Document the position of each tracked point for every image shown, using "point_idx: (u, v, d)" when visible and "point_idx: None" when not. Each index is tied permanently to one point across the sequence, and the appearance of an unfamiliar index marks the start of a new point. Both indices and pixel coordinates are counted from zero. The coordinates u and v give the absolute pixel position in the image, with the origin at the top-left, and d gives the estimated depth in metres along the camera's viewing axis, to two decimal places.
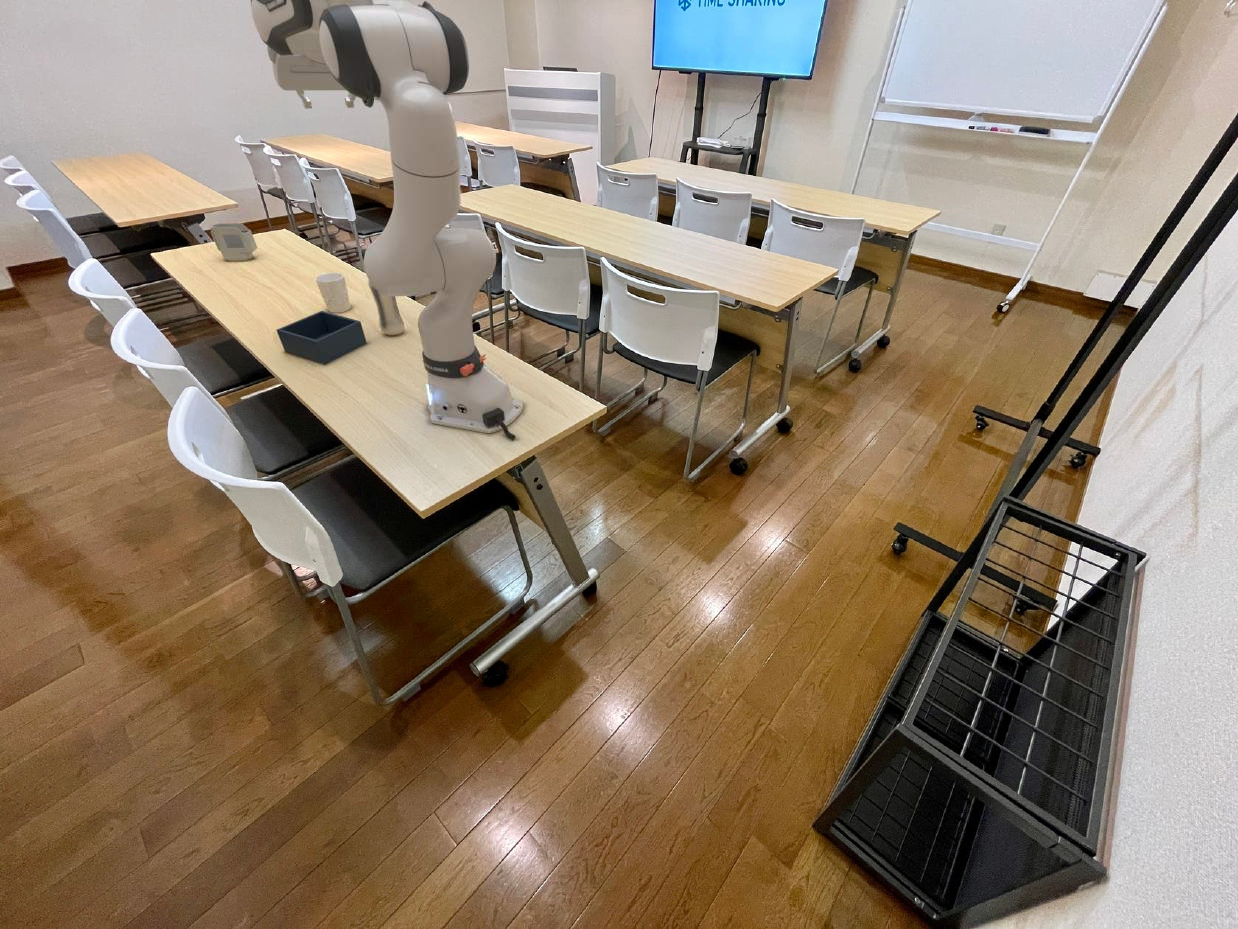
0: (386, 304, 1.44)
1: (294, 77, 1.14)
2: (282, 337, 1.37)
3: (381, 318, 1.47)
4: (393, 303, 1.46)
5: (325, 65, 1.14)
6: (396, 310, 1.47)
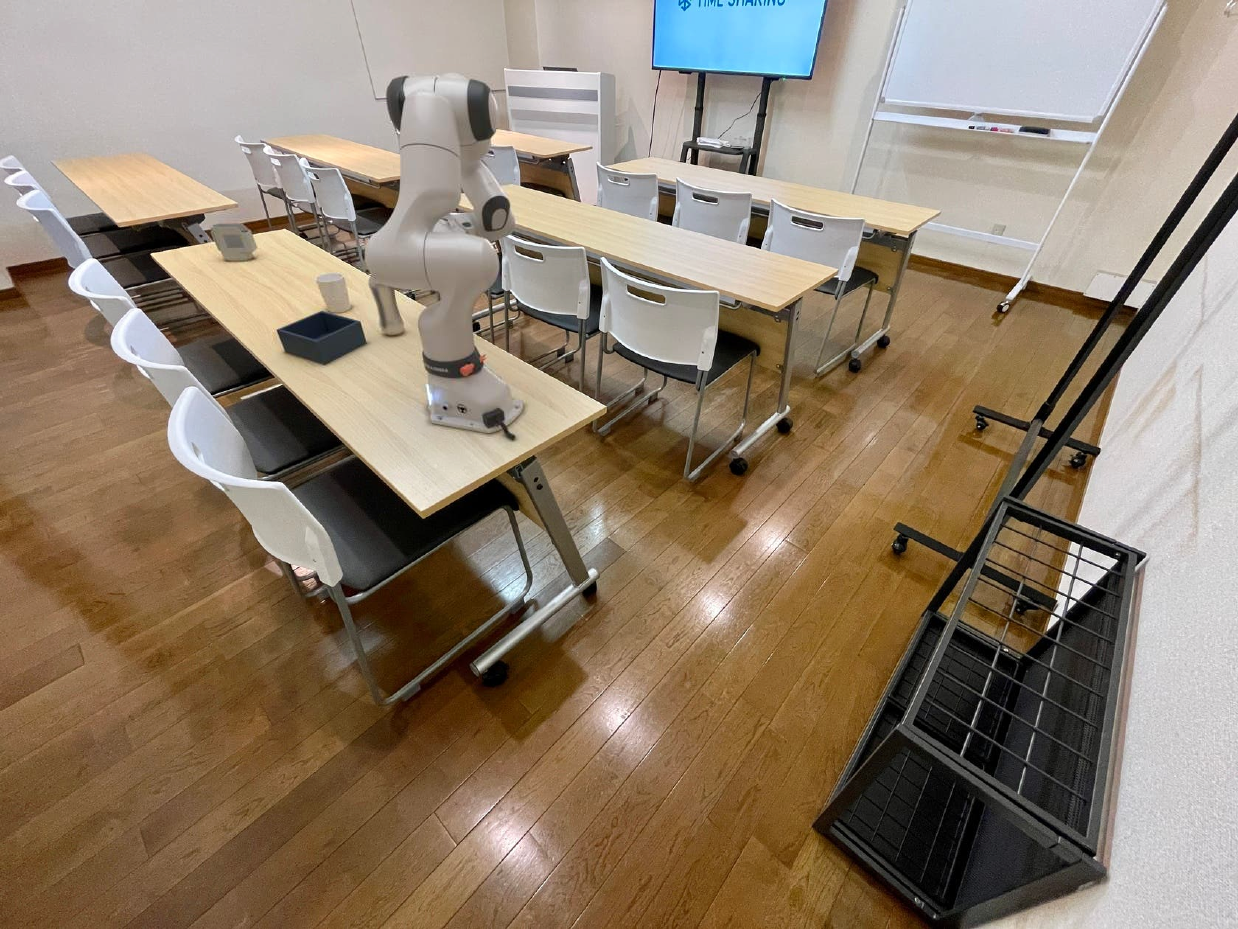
0: (386, 304, 1.44)
1: None
2: (282, 337, 1.37)
3: (381, 318, 1.47)
4: (393, 303, 1.46)
5: (449, 220, 1.46)
6: (396, 310, 1.47)
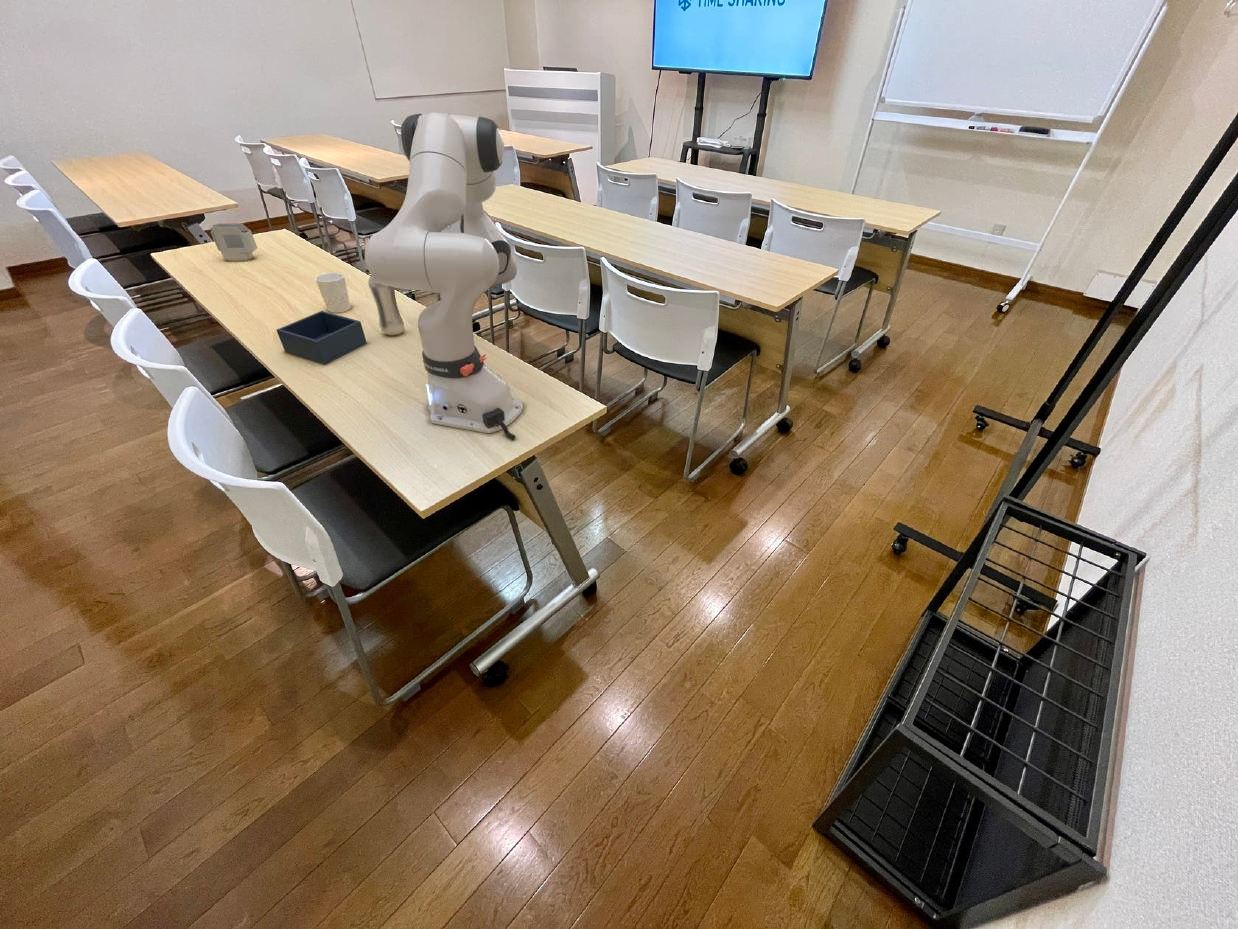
0: (386, 304, 1.44)
1: None
2: (282, 337, 1.37)
3: (381, 318, 1.47)
4: (393, 303, 1.46)
5: None
6: (396, 310, 1.47)
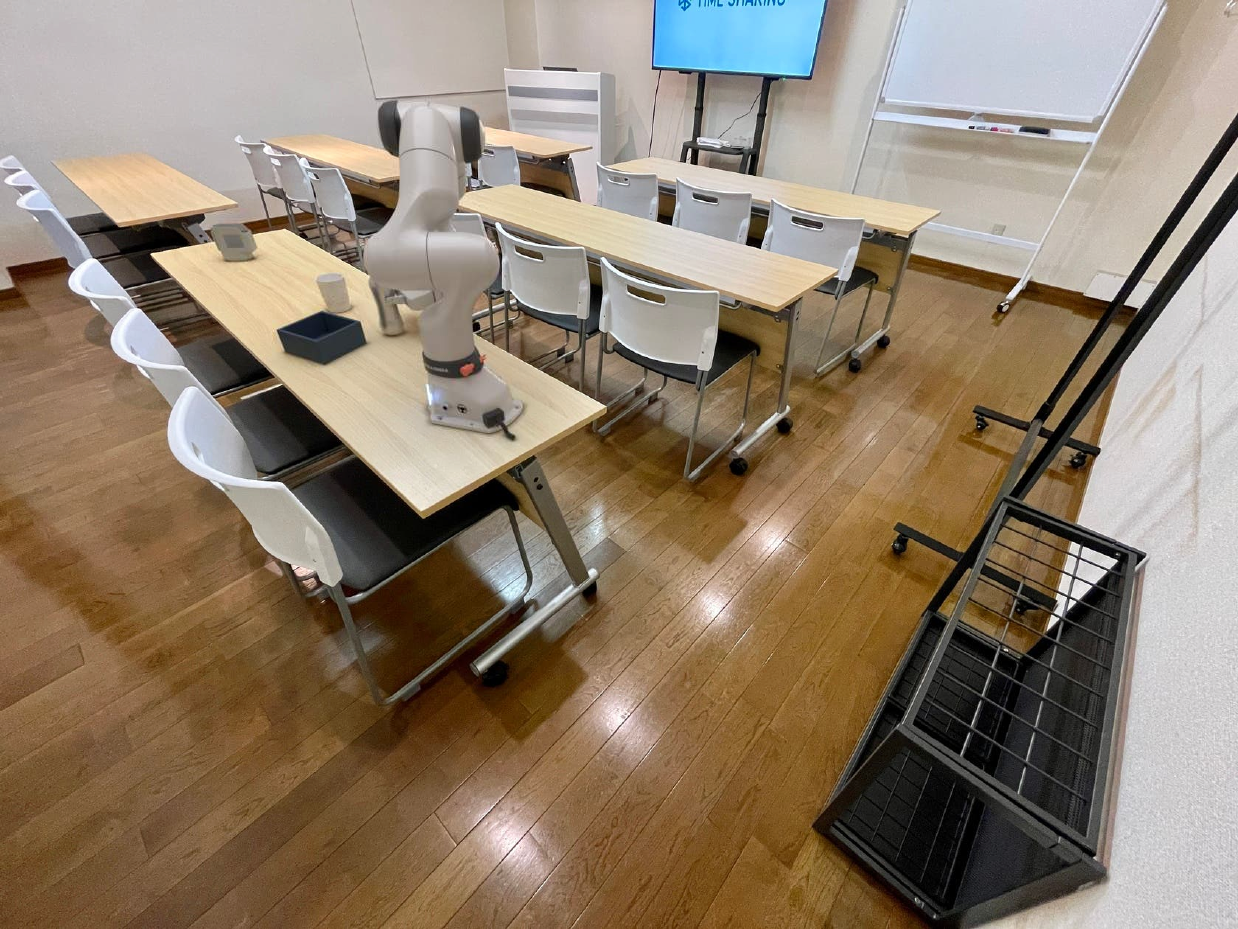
0: (386, 304, 1.44)
1: None
2: (282, 337, 1.37)
3: (381, 318, 1.47)
4: None
5: None
6: (396, 310, 1.47)
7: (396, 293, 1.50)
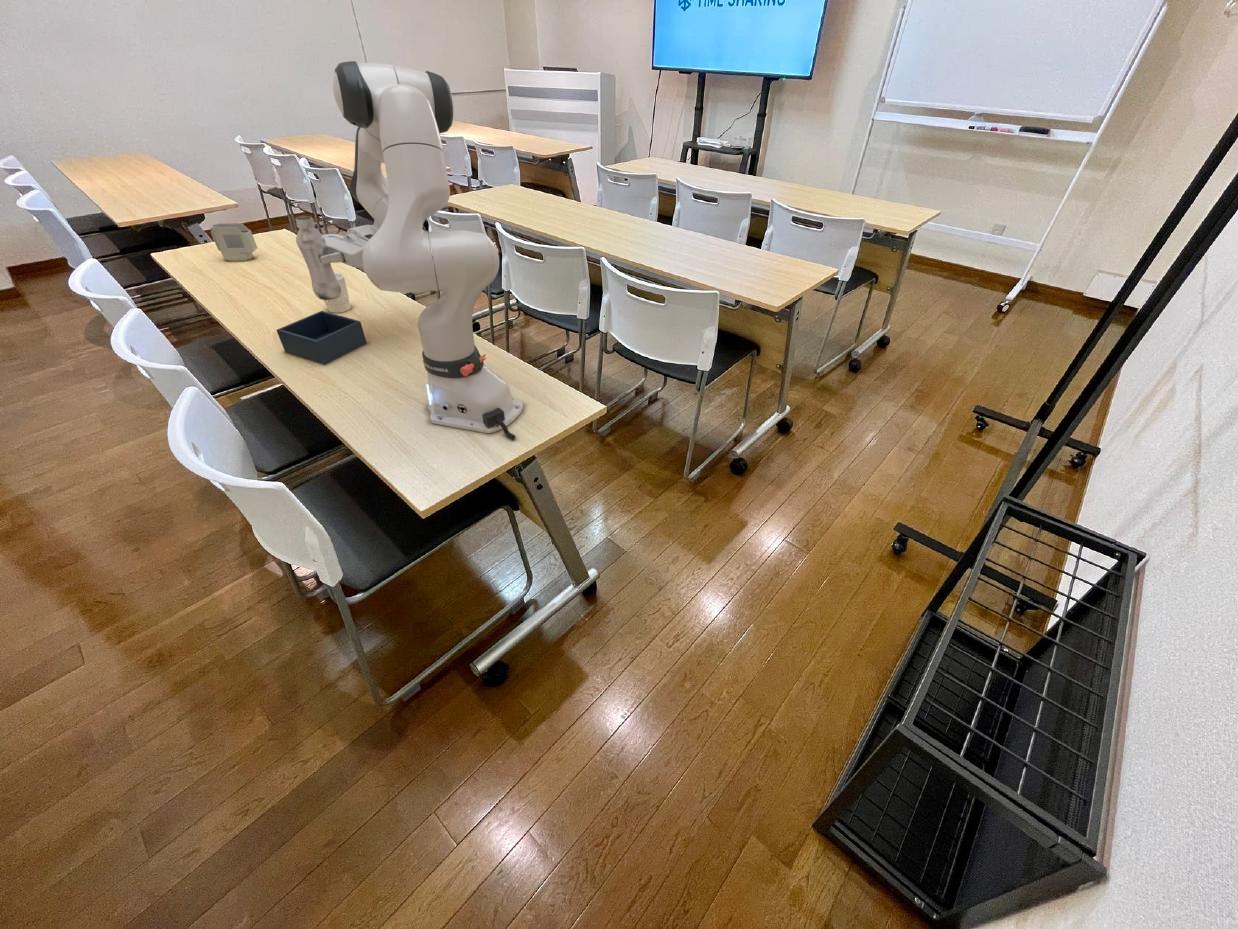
0: (320, 264, 1.31)
1: (324, 237, 1.37)
2: (282, 337, 1.37)
3: (315, 281, 1.33)
4: (328, 263, 1.32)
5: (348, 234, 1.36)
6: (331, 271, 1.34)
7: None
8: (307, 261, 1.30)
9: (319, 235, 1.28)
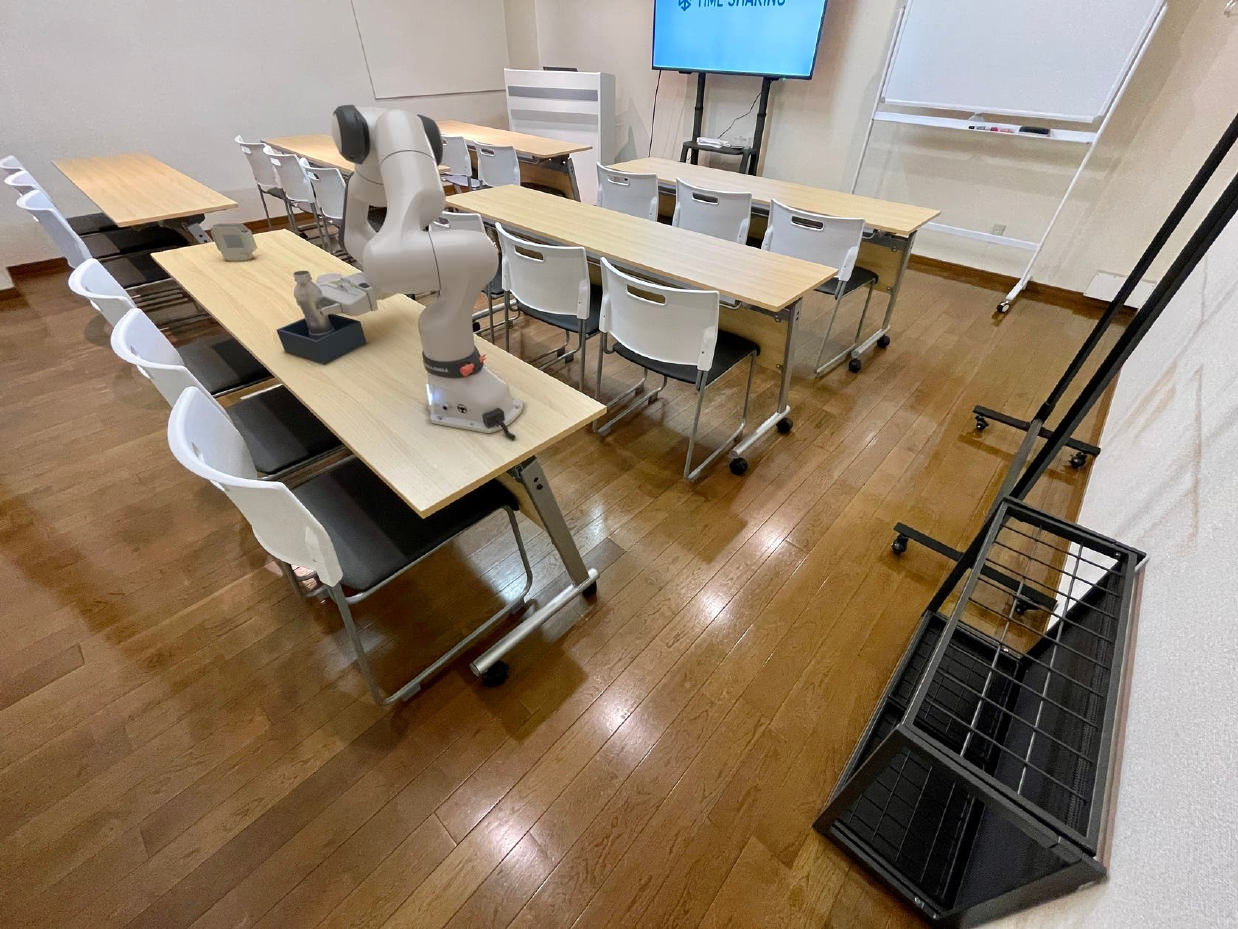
0: (318, 315, 1.36)
1: None
2: (282, 337, 1.37)
3: (313, 331, 1.38)
4: None
5: (341, 283, 1.41)
6: (328, 320, 1.39)
7: None
8: (305, 313, 1.35)
9: (316, 288, 1.33)
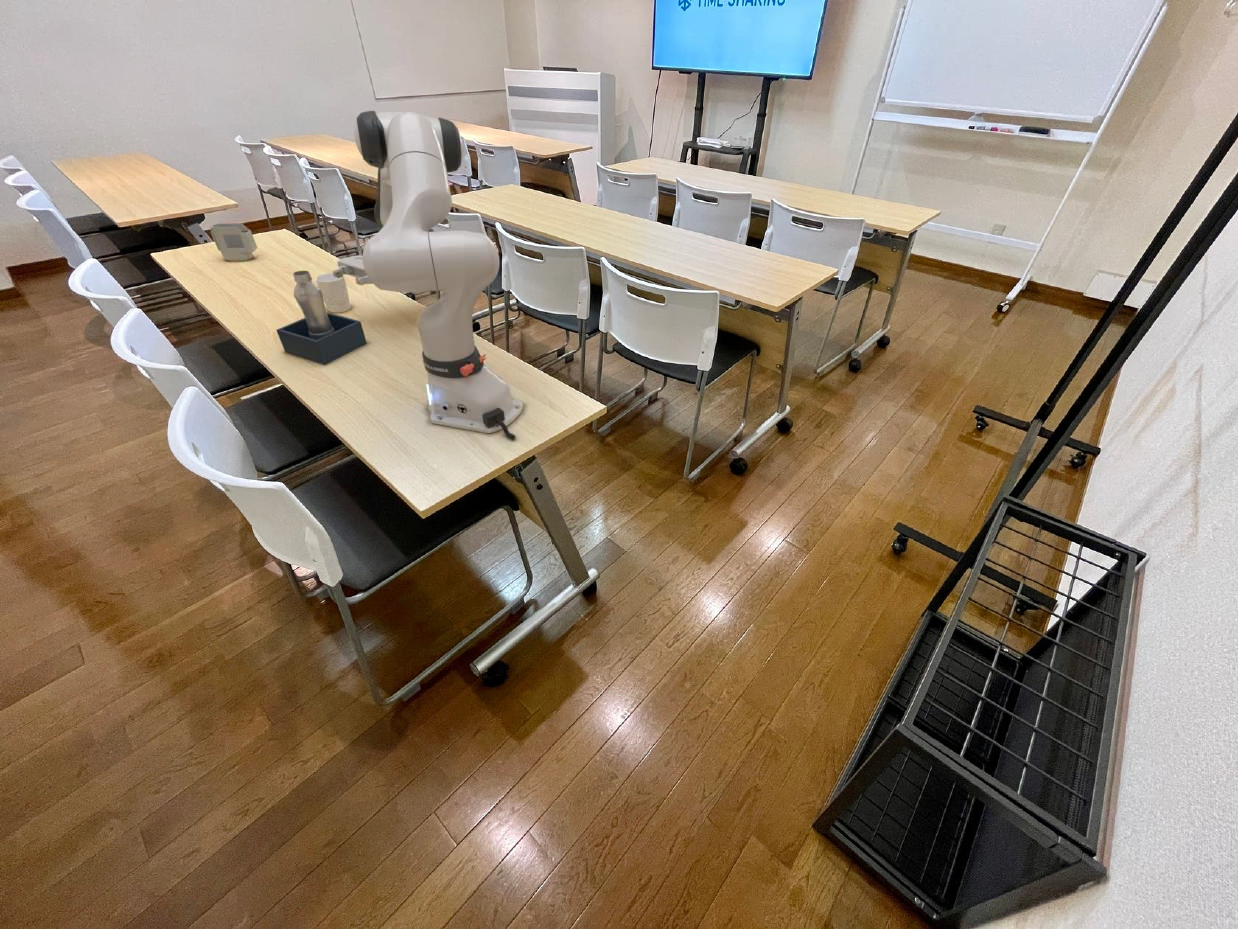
0: (318, 315, 1.36)
1: (352, 259, 1.48)
2: (282, 337, 1.37)
3: (313, 331, 1.38)
4: (325, 313, 1.38)
5: None
6: (328, 320, 1.39)
7: (354, 274, 1.47)
8: (305, 313, 1.35)
9: (316, 288, 1.33)
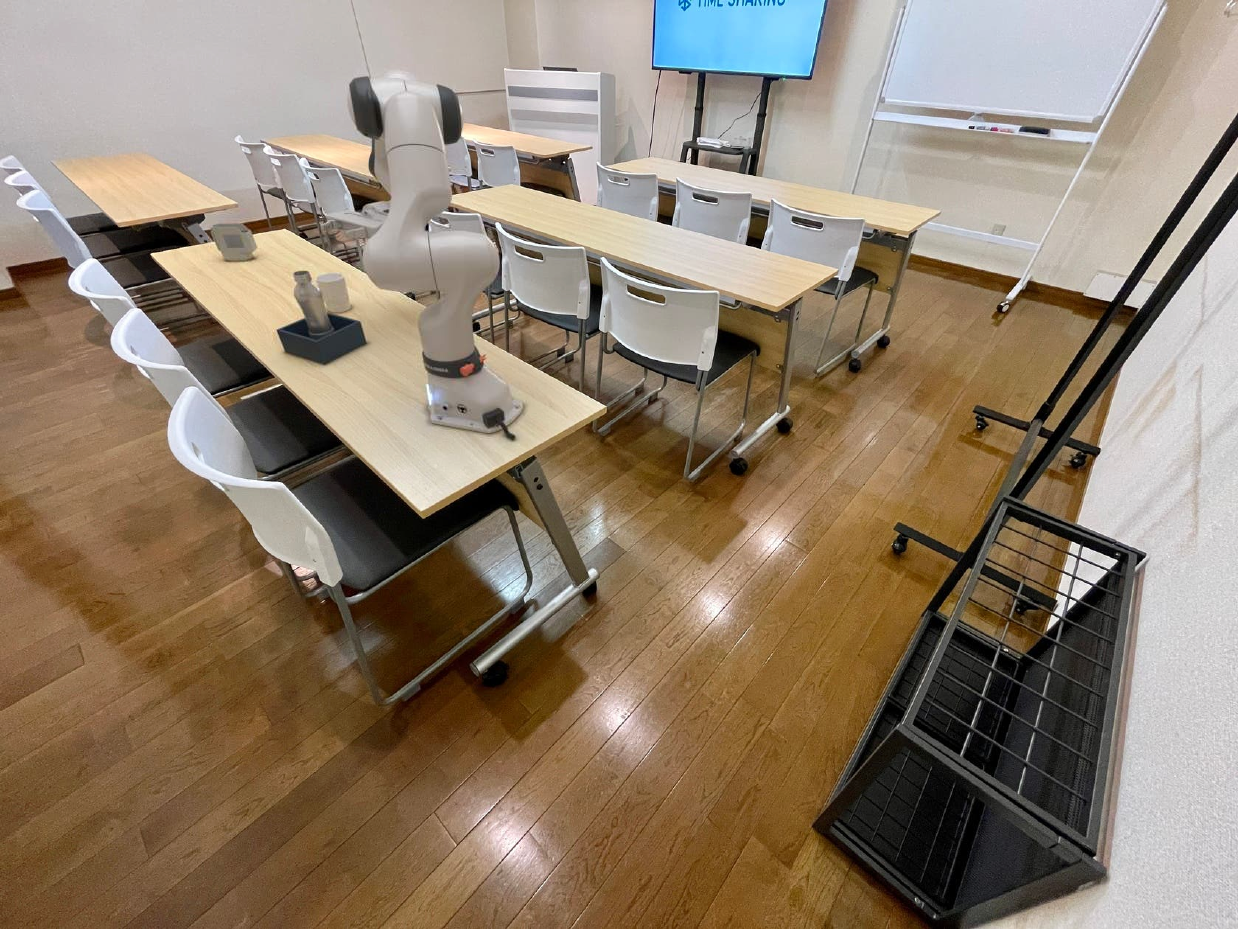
0: (318, 315, 1.36)
1: (341, 214, 1.41)
2: (282, 337, 1.37)
3: (313, 331, 1.38)
4: (325, 313, 1.38)
5: (366, 210, 1.40)
6: (328, 320, 1.39)
7: (343, 229, 1.40)
8: (305, 313, 1.35)
9: (316, 288, 1.33)
